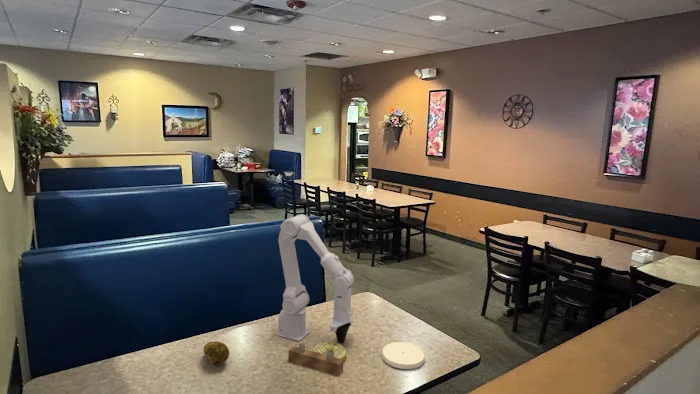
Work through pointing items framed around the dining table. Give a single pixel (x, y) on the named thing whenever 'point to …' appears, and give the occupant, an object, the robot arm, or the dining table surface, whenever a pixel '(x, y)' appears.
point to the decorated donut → (331, 349)
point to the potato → (216, 352)
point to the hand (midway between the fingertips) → (340, 342)
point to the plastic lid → (403, 355)
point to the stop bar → (315, 360)
